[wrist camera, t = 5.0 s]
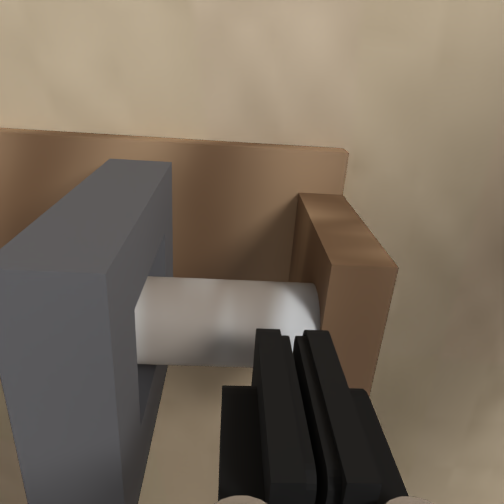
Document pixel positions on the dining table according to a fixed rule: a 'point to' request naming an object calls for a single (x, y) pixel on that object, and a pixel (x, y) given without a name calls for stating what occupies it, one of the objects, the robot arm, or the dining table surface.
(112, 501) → the grey flat block
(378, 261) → the pipe stand
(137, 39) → the dining table surface
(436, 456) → the dining table surface
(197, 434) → the dining table surface
